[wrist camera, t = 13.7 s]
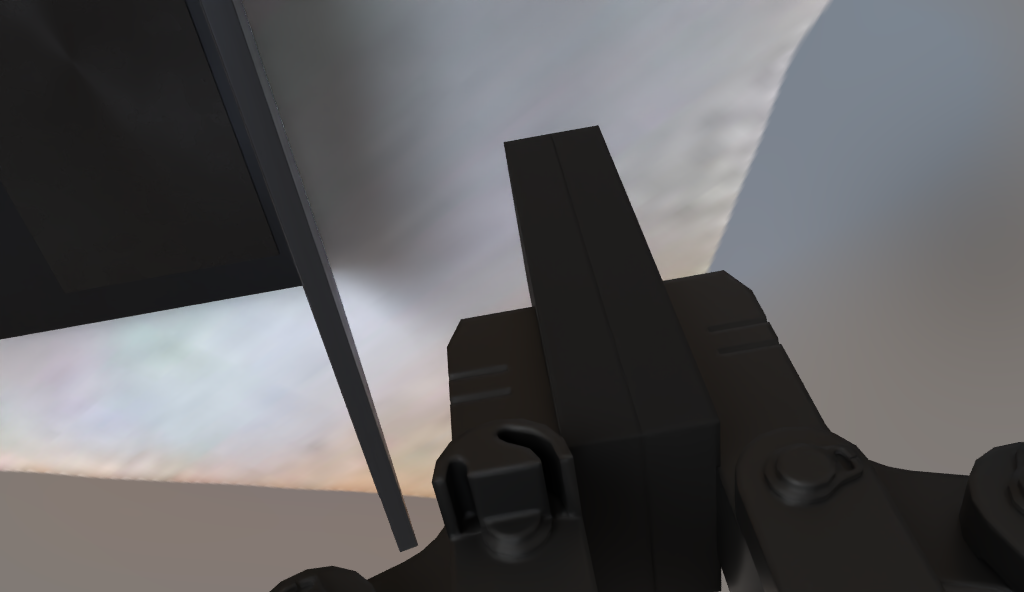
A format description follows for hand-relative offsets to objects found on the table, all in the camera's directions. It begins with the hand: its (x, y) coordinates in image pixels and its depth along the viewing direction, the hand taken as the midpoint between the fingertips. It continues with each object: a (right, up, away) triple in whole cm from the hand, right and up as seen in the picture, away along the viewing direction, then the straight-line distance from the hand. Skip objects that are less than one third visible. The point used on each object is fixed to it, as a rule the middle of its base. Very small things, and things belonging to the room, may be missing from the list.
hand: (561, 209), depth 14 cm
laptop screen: (-12, +6, +21) cm, 25 cm away
